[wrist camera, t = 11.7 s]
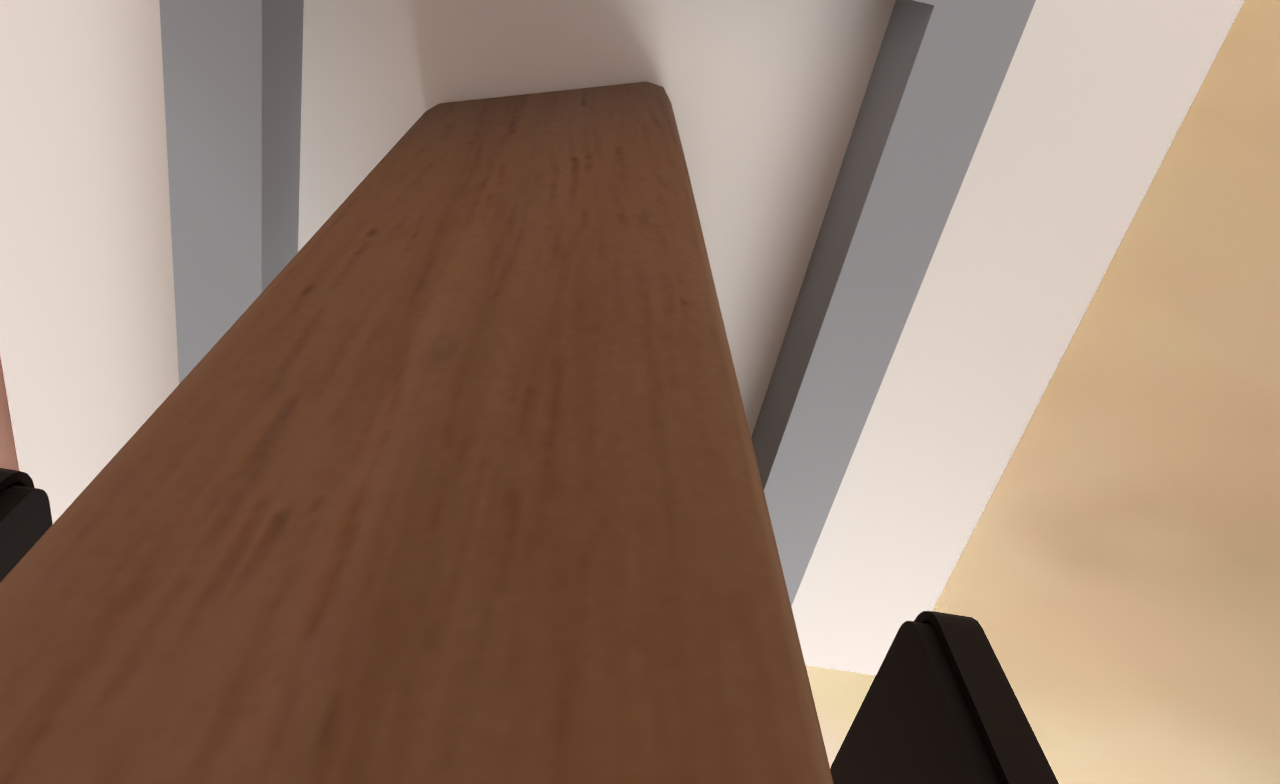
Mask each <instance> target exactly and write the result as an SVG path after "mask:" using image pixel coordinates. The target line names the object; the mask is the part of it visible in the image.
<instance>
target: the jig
mask: <svg viewBox="0 0 1280 784" xmlns="http://www.w3.org/2000/svg"><path fill="white" fill-rule="evenodd" d="M1244 1H1245V0H0V356H1V362H2V369H3V375H4V381H5V387H6V393H7V399H8V405H9V411H10V417H11V423H12V429H13V435H14V441H15V447H16V454H17V460H18V466H19V471H21V472H24V473H27V474H28V475H29V476H30V477H31V478H32V480H33V484H34V487H35V488H38V489H42V490H44V491H45V492H46V493H47V495H48V498H49V502H50V509H51V516H52V523H53V524H54V523H55V521H56V520H57V519H58V518H59V517H60V516H61V515H62V514H63V513H64V511H65V510H66V509H67V508H68V507H69V506H70V505H71V504H72V503H73V501H74V500H75V499H76V498H77V497H78V496H79V495H80V494H81V493H82V491H83V490H84V489H85V488H86V487H87V486H88V485H89V484H90V483H91V482H92V480H93V479H94V478H95V477H96V476H97V475H98V474H99V473H100V472H101V470H102V469H103V468H104V467H105V466H106V465H107V464H108V463H109V462H110V460H111V459H112V458H113V457H114V456H115V455H116V454H117V453H118V452H119V450H120V449H121V448H122V447H123V446H124V445H125V444H126V443H127V442H128V441H129V439H130V438H131V437H132V436H133V435H134V434H135V433H136V432H137V431H138V429H139V428H140V427H141V426H142V425H143V424H144V423H145V422H146V421H147V419H148V418H149V417H150V416H151V415H152V414H153V413H154V412H155V411H156V409H157V408H158V407H159V406H160V405H161V404H162V403H163V402H164V401H165V400H166V398H167V397H168V396H169V395H170V394H171V393H172V392H173V391H174V390H175V388H176V387H177V386H178V385H179V384H180V383H181V382H182V381H183V380H184V378H185V377H186V376H187V375H188V374H189V373H190V372H191V371H192V370H193V368H194V367H195V366H196V365H197V364H198V363H199V362H200V361H201V360H202V358H203V357H204V356H205V355H206V354H207V353H208V352H209V351H210V350H211V349H212V347H213V346H214V345H215V344H216V343H217V342H218V341H219V340H220V339H221V337H222V336H223V335H224V334H225V333H226V332H227V331H228V330H229V329H230V327H231V326H232V325H233V324H234V323H235V322H236V321H237V320H238V319H239V317H240V316H241V315H242V314H243V313H244V312H245V311H246V310H247V309H248V308H249V306H250V305H251V304H252V303H253V302H254V301H255V300H256V299H257V297H258V296H259V295H260V294H261V293H262V292H263V291H264V290H265V289H266V287H267V286H268V285H269V284H270V283H271V282H272V281H273V280H274V279H275V277H276V276H277V275H278V274H279V273H280V272H281V271H282V270H283V269H284V267H285V266H286V265H287V264H288V263H289V262H290V261H291V260H292V259H293V257H294V256H295V255H296V254H297V253H298V252H299V251H300V250H301V249H302V247H303V246H304V245H305V244H306V243H307V242H308V241H309V240H310V239H311V237H312V236H313V235H314V234H315V233H316V232H317V231H318V230H319V229H320V227H321V226H322V225H323V224H324V223H325V222H326V221H327V220H328V219H329V217H330V216H331V215H332V214H333V213H334V212H335V211H336V210H337V209H338V207H339V206H340V205H341V204H342V203H343V202H344V201H345V200H346V199H347V197H348V196H349V195H350V194H351V193H352V192H353V191H354V190H355V189H356V187H357V186H358V185H359V184H360V183H361V182H362V181H363V180H364V179H365V177H366V176H367V175H368V174H369V173H370V172H371V171H372V170H373V169H374V168H375V166H376V165H377V164H378V163H379V162H380V161H381V160H382V159H383V158H384V157H385V155H386V154H387V153H388V152H389V151H390V150H391V149H392V148H393V147H394V146H395V144H396V143H397V142H398V141H399V140H400V139H401V138H402V137H403V136H404V134H405V133H406V132H407V131H408V130H409V129H410V128H411V127H412V126H413V125H414V123H415V122H416V121H417V120H418V119H419V118H420V117H421V116H422V115H423V114H424V112H426V111H427V110H429V109H431V108H432V107H434V106H436V105H438V104H439V103H447V102H457V101H466V100H476V99H485V98H495V97H504V96H514V95H523V94H533V93H542V92H552V91H561V90H571V89H580V88H590V87H599V86H609V85H618V84H628V83H637V82H650V83H653V84H656V85H659V86H662V87H664V89H665V91H666V93H667V95H668V97H669V99H670V101H671V104H672V108H673V112H674V116H675V120H676V124H677V128H678V132H679V136H680V140H681V144H682V148H683V152H684V156H685V160H686V164H687V169H688V173H689V177H690V181H691V186H692V190H693V194H694V199H695V203H696V207H697V211H698V216H699V220H700V224H701V229H702V233H703V237H704V241H705V246H706V250H707V254H708V258H709V263H710V267H711V271H712V276H713V280H714V284H715V288H716V293H717V297H718V301H719V305H720V310H721V314H722V318H723V322H724V326H725V331H726V335H727V339H728V343H729V347H730V352H731V356H732V360H733V364H734V368H735V373H736V377H737V381H738V385H739V389H740V393H741V398H742V402H743V406H744V410H745V414H746V419H747V423H748V427H749V431H750V435H751V440H752V444H753V448H754V452H755V456H756V461H757V465H758V469H759V473H760V477H761V482H762V486H763V490H764V494H765V498H766V503H767V507H768V511H769V515H770V519H771V524H772V528H773V532H774V536H775V540H776V545H777V549H778V553H779V557H780V561H781V565H782V570H783V574H784V578H785V582H786V586H787V591H788V595H789V599H790V603H791V607H792V612H793V616H794V620H795V624H796V628H797V633H798V637H799V641H800V645H801V649H802V654H803V658H804V662H805V665H807V666H814V667H821V668H828V669H835V670H842V671H849V672H856V673H863V674H870V675H877V673H878V671H879V669H880V666H881V664H882V662H883V660H884V658H885V656H886V654H887V652H888V650H889V648H890V646H891V644H892V642H893V640H894V638H895V636H896V634H897V632H898V630H899V628H900V627H901V625H902V624H903V623H904V622H905V621H914V620H915V619H916V617H917V616H918V614H920V613H921V612H923V611H932V610H933V608H934V606H935V604H936V602H937V600H938V599H939V597H940V595H941V593H942V591H943V589H944V587H945V585H946V583H947V581H948V579H949V577H950V575H951V573H952V571H953V569H954V567H955V565H956V563H957V561H958V559H959V557H960V556H961V554H962V552H963V550H964V548H965V546H966V544H967V542H968V540H969V538H970V536H971V534H972V532H973V530H974V528H975V526H976V524H977V522H978V520H979V518H980V516H981V515H982V513H983V511H984V509H985V507H986V505H987V503H988V501H989V499H990V497H991V495H992V493H993V491H994V489H995V487H996V485H997V483H998V481H999V479H1000V477H1001V475H1002V473H1003V472H1004V470H1005V468H1006V466H1007V464H1008V462H1009V460H1010V458H1011V456H1012V454H1013V452H1014V450H1015V448H1016V446H1017V444H1018V442H1019V440H1020V438H1021V436H1022V434H1023V432H1024V431H1025V429H1026V427H1027V425H1028V423H1029V421H1030V419H1031V417H1032V415H1033V413H1034V411H1035V409H1036V407H1037V405H1038V403H1039V401H1040V399H1041V397H1042V395H1043V393H1044V391H1045V389H1046V388H1047V386H1048V384H1049V382H1050V380H1051V378H1052V376H1053V374H1054V372H1055V370H1056V368H1057V366H1058V364H1059V362H1060V360H1061V358H1062V356H1063V354H1064V352H1065V350H1066V348H1067V347H1068V345H1069V343H1070V341H1071V339H1072V337H1073V335H1074V333H1075V331H1076V329H1077V327H1078V325H1079V323H1080V321H1081V319H1082V317H1083V315H1084V313H1085V311H1086V309H1087V307H1088V305H1089V304H1090V302H1091V300H1092V298H1093V296H1094V294H1095V292H1096V290H1097V288H1098V286H1099V284H1100V282H1101V280H1102V278H1103V276H1104V274H1105V272H1106V270H1107V268H1108V266H1109V264H1110V262H1111V261H1112V259H1113V257H1114V255H1115V253H1116V251H1117V249H1118V247H1119V245H1120V243H1121V241H1122V239H1123V237H1124V235H1125V233H1126V231H1127V229H1128V227H1129V225H1130V223H1131V221H1132V220H1133V218H1134V216H1135V214H1136V212H1137V210H1138V208H1139V206H1140V204H1141V202H1142V200H1143V198H1144V196H1145V194H1146V192H1147V190H1148V188H1149V186H1150V184H1151V182H1152V180H1153V178H1154V177H1155V175H1156V173H1157V171H1158V169H1159V167H1160V165H1161V163H1162V161H1163V159H1164V157H1165V155H1166V153H1167V151H1168V149H1169V147H1170V145H1171V143H1172V141H1173V139H1174V137H1175V136H1176V134H1177V132H1178V130H1179V128H1180V126H1181V124H1182V122H1183V120H1184V118H1185V116H1186V114H1187V112H1188V110H1189V108H1190V106H1191V104H1192V102H1193V100H1194V98H1195V96H1196V94H1197V93H1198V91H1199V89H1200V87H1201V85H1202V83H1203V81H1204V79H1205V77H1206V75H1207V73H1208V71H1209V69H1210V67H1211V65H1212V63H1213V61H1214V59H1215V57H1216V55H1217V53H1218V52H1219V50H1220V48H1221V46H1222V44H1223V42H1224V40H1225V38H1226V36H1227V34H1228V32H1229V30H1230V28H1231V26H1232V24H1233V22H1234V20H1235V18H1236V16H1237V14H1238V12H1239V10H1240V9H1241V7H1242V5H1243V3H1244Z"/></svg>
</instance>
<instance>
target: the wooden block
mask: <svg viewBox="0 0 1280 784" xmlns="http://www.w3.org/2000/svg"><path fill="white" fill-rule="evenodd" d="M0 784H833V779H832V775H831V771H830V767H829V763H828V758H827V754H826V750H825V746H824V742H823V737H822V733H821V729H820V725H819V721H818V716H817V712H816V708H815V704H814V700H813V696H812V691H811V687H810V683H809V679H808V675H807V670H806V666H805V662H804V658H803V654H802V649H801V645H800V641H799V637H798V633H797V628H796V624H795V620H794V616H793V612H792V607H791V603H790V599H789V595H788V591H787V586H786V582H785V578H784V574H783V570H782V565H781V561H780V557H779V553H778V549H777V545H776V540H775V536H774V532H773V528H772V524H771V519H770V515H769V511H768V507H767V503H766V498H765V494H764V490H763V486H762V482H761V477H760V473H759V469H758V465H757V461H756V456H755V452H754V448H753V444H752V440H751V435H750V431H749V427H748V423H747V419H746V414H745V410H744V406H743V402H742V398H741V393H740V389H739V385H738V381H737V377H736V373H735V368H734V364H733V360H732V356H731V352H730V347H729V343H728V339H727V335H726V331H725V326H724V322H723V318H722V314H721V310H720V305H719V301H718V297H717V293H716V288H715V284H714V280H713V276H712V271H711V267H710V263H709V258H708V254H707V250H706V246H705V241H704V237H703V233H702V229H701V224H700V220H699V216H698V211H697V207H696V203H695V199H694V194H693V190H692V186H691V181H690V177H689V173H688V169H687V164H686V160H685V156H684V152H683V148H682V144H681V140H680V136H679V132H678V128H677V124H676V120H675V116H674V112H673V108H672V104H671V101H670V99H669V97H668V95H667V93H666V91H665V89H664V87H662V86H659V85H656V84H653V83H650V82H637V83H628V84H618V85H609V86H599V87H590V88H580V89H571V90H561V91H552V92H542V93H533V94H523V95H514V96H504V97H495V98H485V99H476V100H466V101H457V102H447V103H439V104H438V105H436V106H434V107H432V108H431V109H429V110H427V111H426V112H424V114H423V115H422V116H421V117H420V118H419V119H418V120H417V121H416V122H415V123H414V125H413V126H412V127H411V128H410V129H409V130H408V131H407V132H406V133H405V134H404V136H403V137H402V138H401V139H400V140H399V141H398V142H397V143H396V144H395V146H394V147H393V148H392V149H391V150H390V151H389V152H388V153H387V154H386V155H385V157H384V158H383V159H382V160H381V161H380V162H379V163H378V164H377V165H376V166H375V168H374V169H373V170H372V171H371V172H370V173H369V174H368V175H367V176H366V177H365V179H364V180H363V181H362V182H361V183H360V184H359V185H358V186H357V187H356V189H355V190H354V191H353V192H352V193H351V194H350V195H349V196H348V197H347V199H346V200H345V201H344V202H343V203H342V204H341V205H340V206H339V207H338V209H337V210H336V211H335V212H334V213H333V214H332V215H331V216H330V217H329V219H328V220H327V221H326V222H325V223H324V224H323V225H322V226H321V227H320V229H319V230H318V231H317V232H316V233H315V234H314V235H313V236H312V237H311V239H310V240H309V241H308V242H307V243H306V244H305V245H304V246H303V247H302V249H301V250H300V251H299V252H298V253H297V254H296V255H295V256H294V257H293V259H292V260H291V261H290V262H289V263H288V264H287V265H286V266H285V267H284V269H283V270H282V271H281V272H280V273H279V274H278V275H277V276H276V277H275V279H274V280H273V281H272V282H271V283H270V284H269V285H268V286H267V287H266V289H265V290H264V291H263V292H262V293H261V294H260V295H259V296H258V297H257V299H256V300H255V301H254V302H253V303H252V304H251V305H250V306H249V308H248V309H247V310H246V311H245V312H244V313H243V314H242V315H241V316H240V317H239V319H238V320H237V321H236V322H235V323H234V324H233V325H232V326H231V327H230V329H229V330H228V331H227V332H226V333H225V334H224V335H223V336H222V337H221V339H220V340H219V341H218V342H217V343H216V344H215V345H214V346H213V347H212V349H211V350H210V351H209V352H208V353H207V354H206V355H205V356H204V357H203V358H202V360H201V361H200V362H199V363H198V364H197V365H196V366H195V367H194V368H193V370H192V371H191V372H190V373H189V374H188V375H187V376H186V377H185V378H184V380H183V381H182V382H181V383H180V384H179V385H178V386H177V387H176V388H175V390H174V391H173V392H172V393H171V394H170V395H169V396H168V397H167V398H166V400H165V401H164V402H163V403H162V404H161V405H160V406H159V407H158V408H157V409H156V411H155V412H154V413H153V414H152V415H151V416H150V417H149V418H148V419H147V421H146V422H145V423H144V424H143V425H142V426H141V427H140V428H139V429H138V431H137V432H136V433H135V434H134V435H133V436H132V437H131V438H130V439H129V441H128V442H127V443H126V444H125V445H124V446H123V447H122V448H121V449H120V450H119V452H118V453H117V454H116V455H115V456H114V457H113V458H112V459H111V460H110V462H109V463H108V464H107V465H106V466H105V467H104V468H103V469H102V470H101V472H100V473H99V474H98V475H97V476H96V477H95V478H94V479H93V480H92V482H91V483H90V484H89V485H88V486H87V487H86V488H85V489H84V490H83V491H82V493H81V494H80V495H79V496H78V497H77V498H76V499H75V500H74V501H73V503H72V504H71V505H70V506H69V507H68V508H67V509H66V510H65V511H64V513H63V514H62V515H61V516H60V517H59V518H58V519H57V520H56V521H55V523H54V524H53V525H52V526H51V527H50V528H49V529H48V530H47V531H46V532H45V534H44V535H43V536H42V537H41V538H40V539H39V540H38V541H37V542H36V544H35V545H34V546H33V547H32V548H31V549H30V550H29V551H28V552H27V554H26V555H25V556H24V557H23V558H22V559H21V560H20V561H19V562H18V564H17V565H16V566H15V567H14V568H13V569H12V570H11V571H10V572H9V573H8V575H7V576H6V577H5V578H4V579H3V580H2V581H1V582H0Z"/></svg>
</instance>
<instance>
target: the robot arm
mask: <svg viewBox="0 0 1280 784" xmlns="http://www.w3.org/2000/svg"><path fill="white" fill-rule="evenodd" d="M52 525H53V523H52V516H51V509H50V502H49V498H48V495H47V493H46V492H45V491H44V490H42V489H38V488H35V487H34V484H33V480H32V478H31V477H30V476H29V475H28V474H27V473H24V472H21V471H16V470H9V469H3V468H0V582H1V581H2V580H3V579H4V578H5V577H6V576H7V575H8V573H9V572H10V571H11V570H12V569H13V568H14V567H15V566H16V565H17V564H18V562H19V561H20V560H21V559H22V558H23V557H24V556H25V555H26V554H27V552H28V551H29V550H30V549H31V548H32V547H33V546H34V545H35V544H36V542H37V541H38V540H39V539H40V538H41V537H42V536H43V535H44V534H45V532H46V531H47V530H48V529H49V528H50V527H51V526H52ZM830 771H831V775H832V779H833V784H1059V783H1058V781H1057V779H1056V777H1055V775H1054V773H1053V771H1052V769H1051V767H1050V765H1049V763H1048V761H1047V759H1046V757H1045V755H1044V753H1043V751H1042V749H1041V747H1040V745H1039V743H1038V741H1037V739H1036V736H1035V734H1034V732H1033V730H1032V728H1031V726H1030V724H1029V722H1028V720H1027V718H1026V716H1025V714H1024V712H1023V710H1022V708H1021V706H1020V704H1019V702H1018V700H1017V698H1016V696H1015V694H1014V692H1013V690H1012V688H1011V686H1010V684H1009V682H1008V679H1007V677H1006V675H1005V673H1004V671H1003V669H1002V667H1001V665H1000V663H999V661H998V659H997V657H996V655H995V653H994V651H993V649H992V647H991V645H990V643H989V641H988V639H987V637H986V635H985V633H984V631H983V629H982V627H981V626H980V624H979V623H978V621H976V620H975V619H973V618H972V617H965V616H959V615H952V614H946V613H939V612H933V611H923V612H921V613H920V614H918V616H917V617H916V619H915V620H914V621H905V622H904V623H903V624H902V625H901V627H900V628H899V630H898V632H897V634H896V636H895V638H894V640H893V642H892V644H891V646H890V648H889V650H888V652H887V654H886V656H885V658H884V660H883V662H882V664H881V666H880V669H879V671H878V673H877V675H876V677H875V679H874V681H873V683H872V685H871V687H870V689H869V691H868V693H867V695H866V697H865V699H864V701H863V703H862V705H861V707H860V709H859V711H858V713H857V715H856V717H855V719H854V721H853V723H852V725H851V727H850V729H849V731H848V733H847V735H846V737H845V739H844V741H843V743H842V746H841V748H840V750H839V752H838V754H837V756H836V758H835V760H834V762H833V764H832V766H831V769H830Z"/></svg>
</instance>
